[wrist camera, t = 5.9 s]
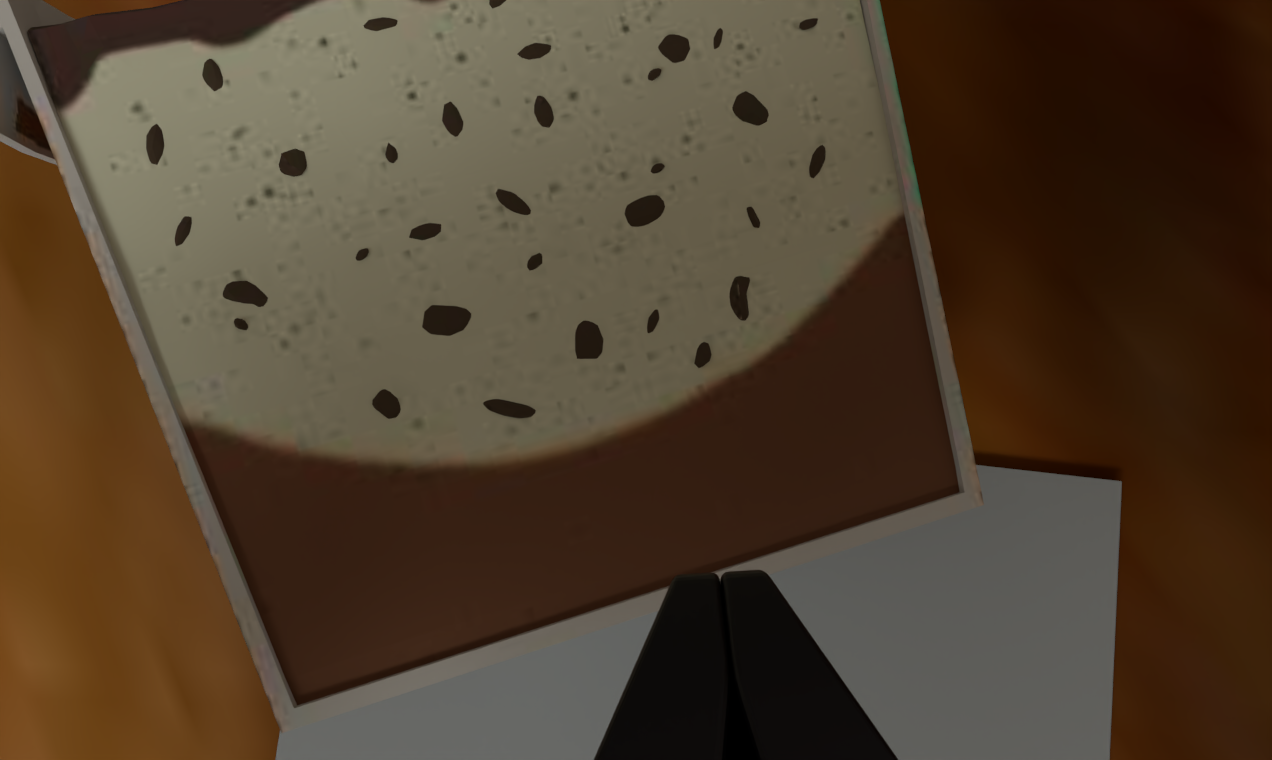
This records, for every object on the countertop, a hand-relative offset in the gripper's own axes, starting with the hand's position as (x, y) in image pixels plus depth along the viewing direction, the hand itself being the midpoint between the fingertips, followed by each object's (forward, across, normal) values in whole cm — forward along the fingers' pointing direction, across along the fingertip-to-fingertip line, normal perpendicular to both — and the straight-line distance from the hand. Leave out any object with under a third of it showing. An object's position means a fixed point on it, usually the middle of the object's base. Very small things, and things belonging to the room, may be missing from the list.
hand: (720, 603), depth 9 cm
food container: (+5, +1, +5) cm, 7 cm away
